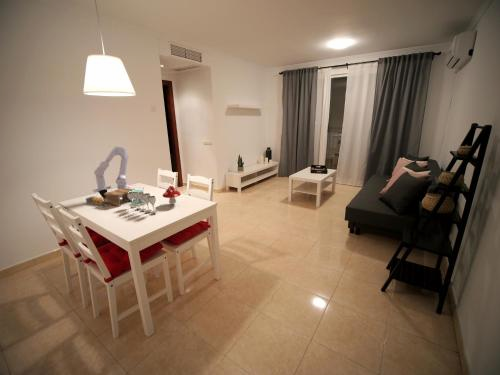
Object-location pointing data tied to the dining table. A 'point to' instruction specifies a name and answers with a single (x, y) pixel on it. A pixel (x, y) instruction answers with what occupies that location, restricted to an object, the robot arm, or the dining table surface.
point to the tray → (96, 201)
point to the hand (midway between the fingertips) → (104, 198)
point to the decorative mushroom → (171, 194)
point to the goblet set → (141, 196)
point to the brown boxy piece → (117, 196)
